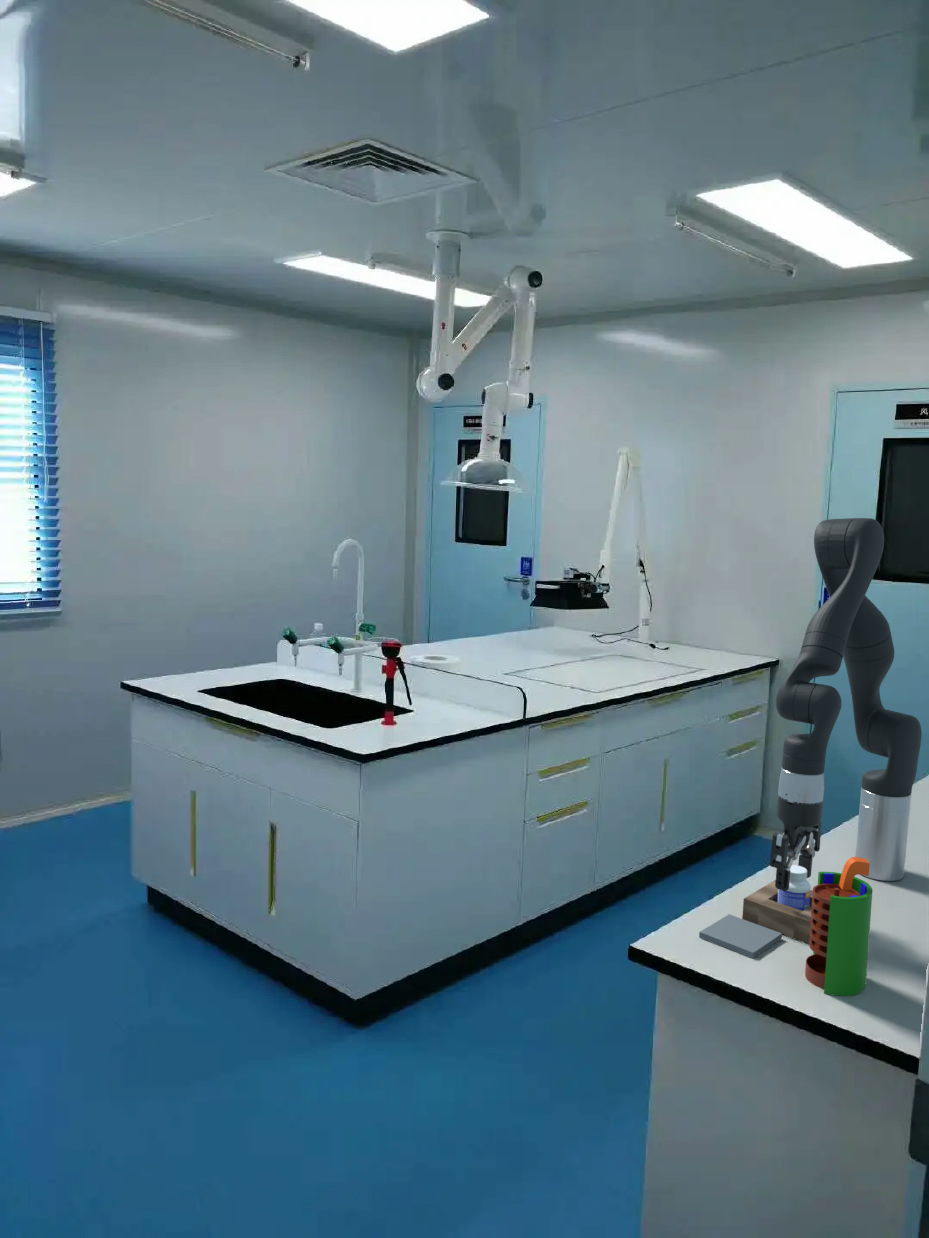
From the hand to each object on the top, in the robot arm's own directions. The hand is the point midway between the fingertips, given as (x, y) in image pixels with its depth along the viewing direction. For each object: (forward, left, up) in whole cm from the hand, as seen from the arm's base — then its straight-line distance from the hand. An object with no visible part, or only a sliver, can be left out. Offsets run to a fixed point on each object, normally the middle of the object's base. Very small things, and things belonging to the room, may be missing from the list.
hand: (793, 882), depth 171 cm
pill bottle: (0, 0, -7) cm, 7 cm away
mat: (+13, -3, -7) cm, 15 cm away
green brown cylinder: (+14, +14, -7) cm, 22 cm away
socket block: (0, 0, -7) cm, 7 cm away
